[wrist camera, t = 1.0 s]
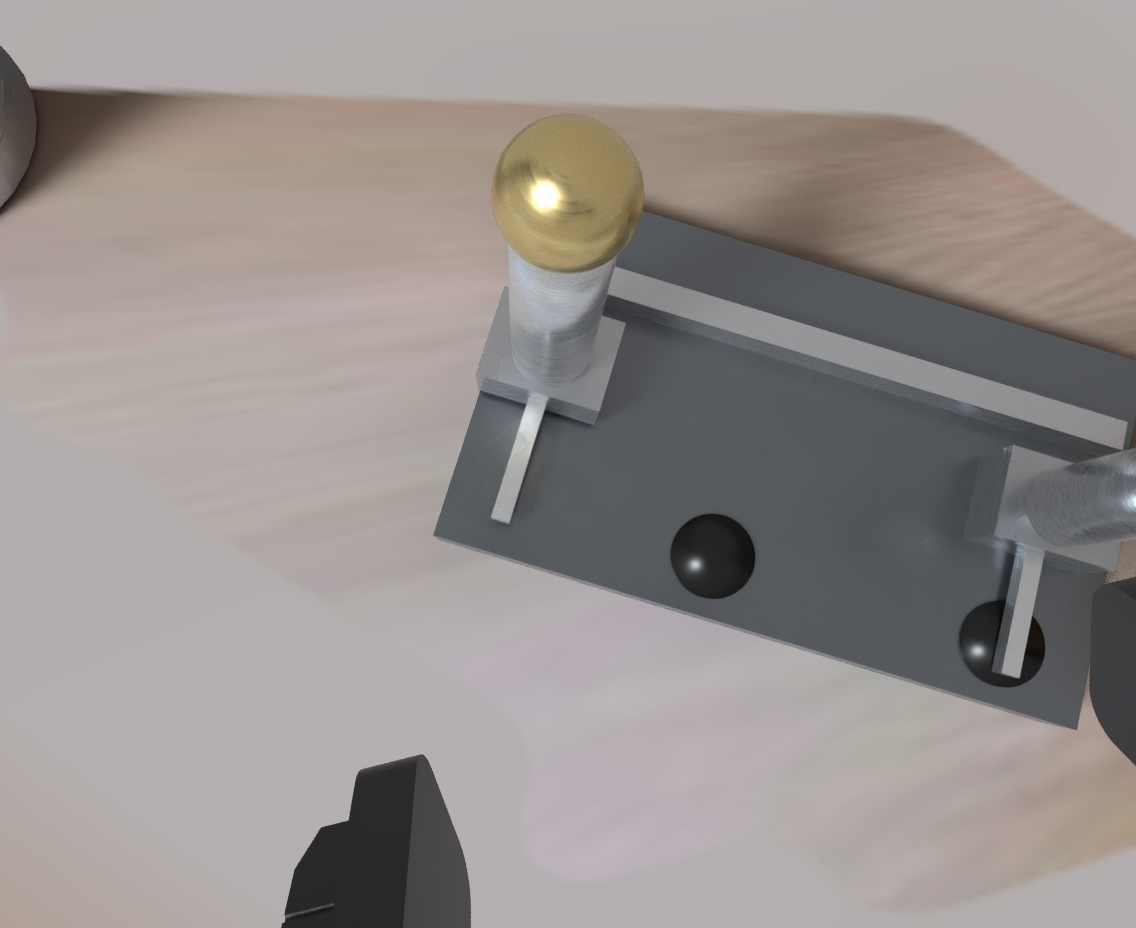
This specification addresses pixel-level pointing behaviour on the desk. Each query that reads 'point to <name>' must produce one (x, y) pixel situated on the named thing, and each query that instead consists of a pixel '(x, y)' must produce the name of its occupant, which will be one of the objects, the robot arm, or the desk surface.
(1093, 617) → the robot arm
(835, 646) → the plate
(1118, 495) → the silver ball-topped post
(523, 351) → the gold topped lever
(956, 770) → the desk surface
